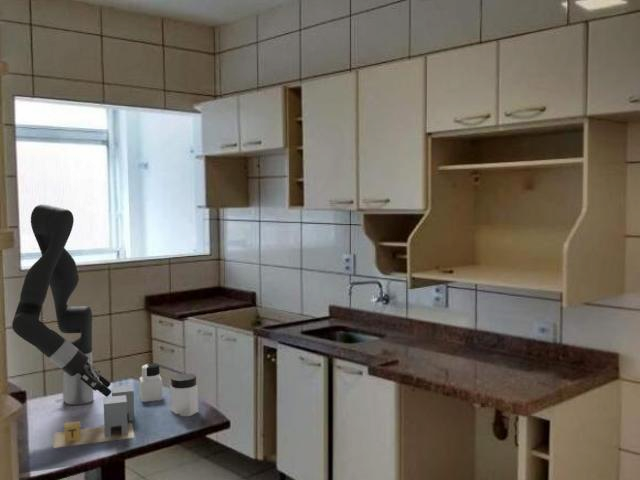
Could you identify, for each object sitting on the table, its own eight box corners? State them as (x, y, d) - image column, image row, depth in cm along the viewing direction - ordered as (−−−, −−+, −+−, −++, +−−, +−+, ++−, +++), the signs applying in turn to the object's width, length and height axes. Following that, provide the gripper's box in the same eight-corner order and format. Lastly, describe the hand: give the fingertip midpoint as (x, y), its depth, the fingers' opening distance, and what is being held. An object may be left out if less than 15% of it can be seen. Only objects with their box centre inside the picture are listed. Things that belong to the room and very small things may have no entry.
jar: (199, 407, 213) (198, 372, 212) (196, 416, 205) (196, 380, 204) (172, 408, 212) (171, 373, 211) (168, 417, 204) (168, 380, 203)
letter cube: (65, 441, 182) (64, 427, 182) (65, 436, 186) (65, 422, 186) (79, 439, 184) (79, 426, 183) (80, 434, 187) (79, 421, 187)
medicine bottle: (160, 394, 228) (159, 361, 227) (162, 400, 221) (162, 366, 220) (139, 396, 225) (139, 363, 225) (141, 402, 219) (141, 368, 218)
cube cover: (113, 424, 197) (112, 393, 196) (112, 417, 203) (111, 387, 202) (134, 421, 199) (133, 390, 199) (133, 415, 205) (132, 385, 205)
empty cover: (104, 437, 185) (103, 404, 184) (104, 429, 191) (103, 397, 190) (127, 434, 187) (126, 401, 186) (126, 427, 193) (125, 395, 192)
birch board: (53, 451, 178) (53, 447, 178) (55, 435, 189) (55, 432, 189) (134, 440, 185) (134, 437, 185) (132, 426, 196) (132, 423, 196)
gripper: (77, 354, 188) (118, 387, 193) (77, 343, 202) (116, 374, 207) (58, 373, 187) (100, 406, 192) (60, 361, 200) (99, 392, 205)
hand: (108, 390), depth 199 cm, fingers open, 8 cm apart
